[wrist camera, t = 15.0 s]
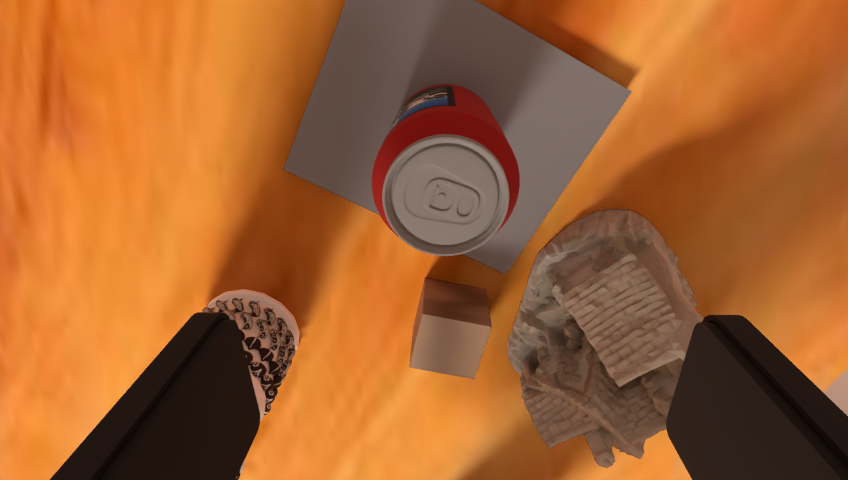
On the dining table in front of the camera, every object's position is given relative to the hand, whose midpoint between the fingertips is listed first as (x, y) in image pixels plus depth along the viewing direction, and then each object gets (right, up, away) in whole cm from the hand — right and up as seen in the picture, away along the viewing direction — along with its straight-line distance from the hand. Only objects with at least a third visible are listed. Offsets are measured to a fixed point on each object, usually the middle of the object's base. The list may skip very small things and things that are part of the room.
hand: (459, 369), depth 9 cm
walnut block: (+1, -3, +27) cm, 27 cm away
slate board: (+1, +10, +21) cm, 23 cm away
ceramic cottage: (+13, -3, +27) cm, 30 cm away
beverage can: (+1, +10, +20) cm, 22 cm away
